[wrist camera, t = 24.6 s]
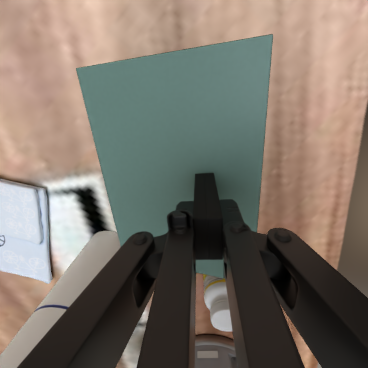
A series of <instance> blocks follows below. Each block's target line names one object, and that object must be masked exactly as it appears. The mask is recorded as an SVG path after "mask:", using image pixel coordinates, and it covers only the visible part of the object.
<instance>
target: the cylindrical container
mask: <svg viewBox="0 0 368 368" xmlns="http://www.w3.org/2000/svg"><path fill="white" fill-rule="evenodd" d="M120 247H121V246H120V242H119V238H118V234H117V233H116V232H112V231H101V232H98V233H96V234H94V235H93V236H92V238H91V239H90V240H89V242H88V243H87V244H86V245H85V247H84V248H83V249H82V251H81V252H80V253H79V254H78V256H77V257H76V258H75V260H74V261H73V262H72V263H71V265H70V266H69V267H68V269H67V270H66V271H65V272H64V274H63V275H62V276H61V278H60V279H59V280H58V282H57V283H56V284H55V285H54V287H53V288H52V289H51V291H50V292H49V293H48V294H47V296H46V297H45V298H44V300H43V301H42V302H41V303H40V305H39V306H38V307H37V309H36V310H35V311H34V313H33V314H32V315H31V316H30V318H29V319H28V320H27V321H26V323H25V324H24V325H23V327H22V328H21V329H20V330H19V332H18V333H17V334H16V336H15V337H14V338H13V339H12V341H11V342H10V343H9V345H8V346H7V347H6V349H5V350H4V351H3V352H2V354H1V355H0V368H17V367H18V366H19V365H20V363H21V362H22V361H23V360H24V359H25V358H26V356H27V355H28V354H29V353H30V352H31V351H32V349H33V348H34V347H35V346H36V345H37V344H38V343H39V341H40V340H41V339H42V338H43V337H44V336H45V334H46V333H47V332H48V331H49V330H50V329H51V327H52V326H53V325H54V324H55V323H56V322H57V320H58V319H59V318H60V317H61V316H62V315H63V314H64V312H65V311H66V310H67V309H68V308H69V307H70V305H71V304H72V303H73V302H74V301H75V300H76V298H77V297H78V296H79V295H80V294H81V293H82V292H83V290H84V289H85V288H86V287H87V286H88V285H89V283H90V282H91V281H92V280H93V279H94V278H95V276H96V275H97V274H98V273H99V272H100V271H101V269H102V268H103V267H104V266H105V265H106V264H107V263H108V261H109V260H110V259H111V258H112V257H113V256H114V254H115V253H116V252H117V251H118V250H119V249H120Z"/></svg>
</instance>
